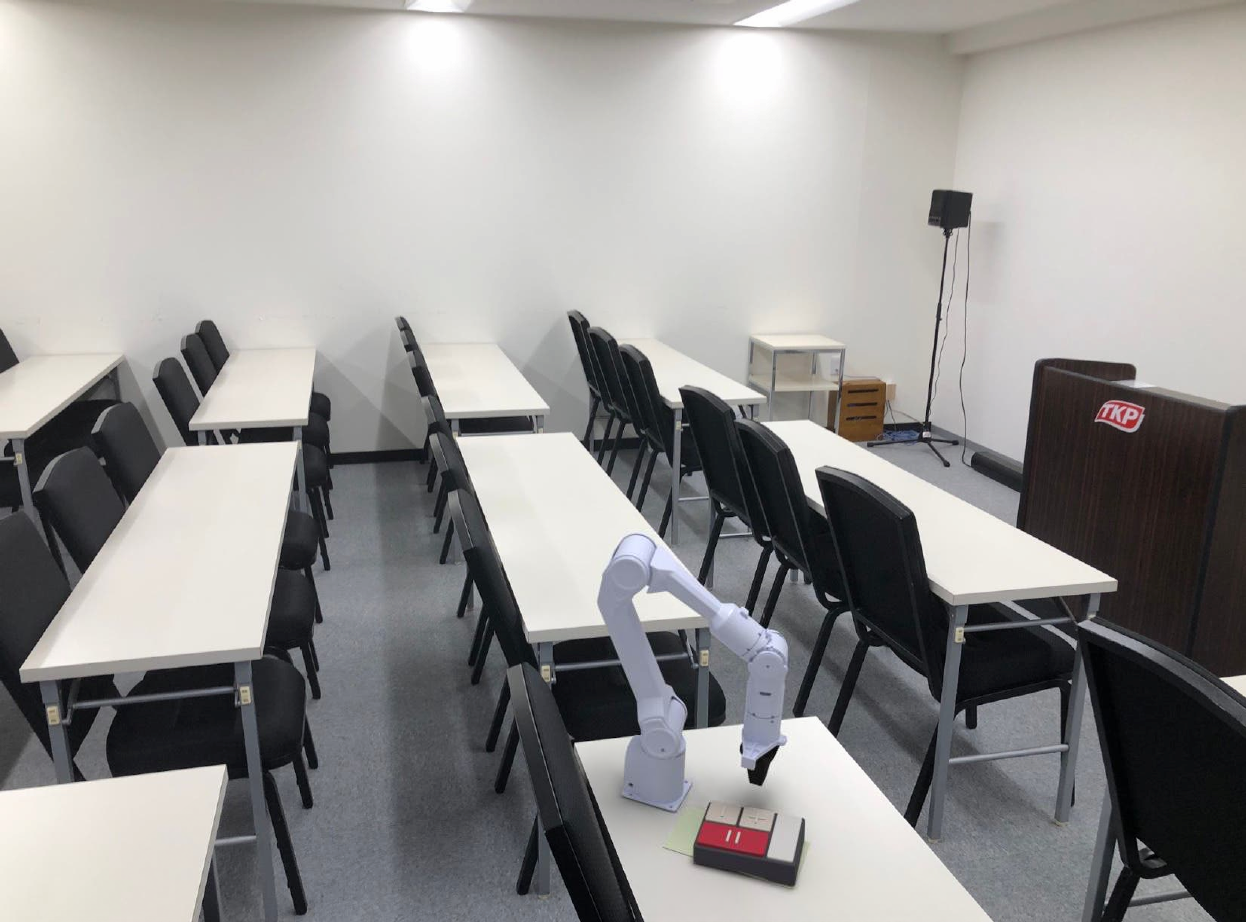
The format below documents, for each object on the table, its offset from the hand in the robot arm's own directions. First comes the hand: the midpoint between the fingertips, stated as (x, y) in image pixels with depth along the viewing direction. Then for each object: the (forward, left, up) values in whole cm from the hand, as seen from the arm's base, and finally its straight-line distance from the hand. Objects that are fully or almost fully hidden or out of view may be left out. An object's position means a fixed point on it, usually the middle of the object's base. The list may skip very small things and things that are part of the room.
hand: (756, 782), depth 151 cm
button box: (+2, -10, -5) cm, 12 cm away
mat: (0, -10, -4) cm, 11 cm away
